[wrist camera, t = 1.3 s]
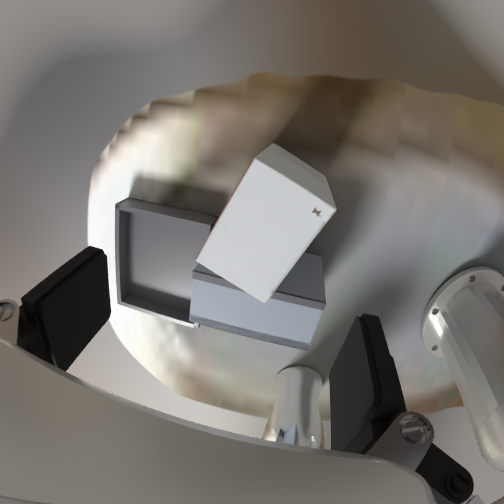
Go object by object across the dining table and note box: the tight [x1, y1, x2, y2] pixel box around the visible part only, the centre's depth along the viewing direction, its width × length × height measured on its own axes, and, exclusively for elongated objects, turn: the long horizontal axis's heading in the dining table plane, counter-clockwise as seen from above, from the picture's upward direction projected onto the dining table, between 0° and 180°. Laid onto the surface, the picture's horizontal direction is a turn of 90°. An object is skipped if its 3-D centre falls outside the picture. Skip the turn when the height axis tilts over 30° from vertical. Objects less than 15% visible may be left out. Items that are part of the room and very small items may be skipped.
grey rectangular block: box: [189, 252, 326, 350], centre depth 27 cm, size 10×5×8 cm, turn 80°
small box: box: [195, 143, 337, 303], centre depth 23 cm, size 8×6×10 cm
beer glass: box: [262, 366, 326, 449], centre depth 30 cm, size 7×7×15 cm
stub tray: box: [115, 198, 218, 329], centre depth 31 cm, size 10×12×2 cm
